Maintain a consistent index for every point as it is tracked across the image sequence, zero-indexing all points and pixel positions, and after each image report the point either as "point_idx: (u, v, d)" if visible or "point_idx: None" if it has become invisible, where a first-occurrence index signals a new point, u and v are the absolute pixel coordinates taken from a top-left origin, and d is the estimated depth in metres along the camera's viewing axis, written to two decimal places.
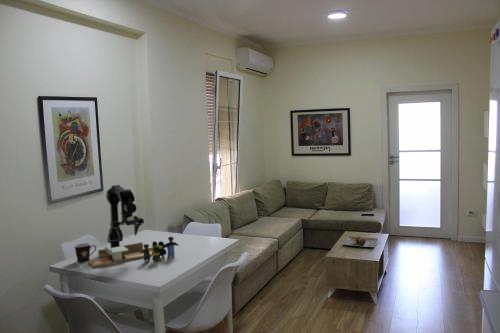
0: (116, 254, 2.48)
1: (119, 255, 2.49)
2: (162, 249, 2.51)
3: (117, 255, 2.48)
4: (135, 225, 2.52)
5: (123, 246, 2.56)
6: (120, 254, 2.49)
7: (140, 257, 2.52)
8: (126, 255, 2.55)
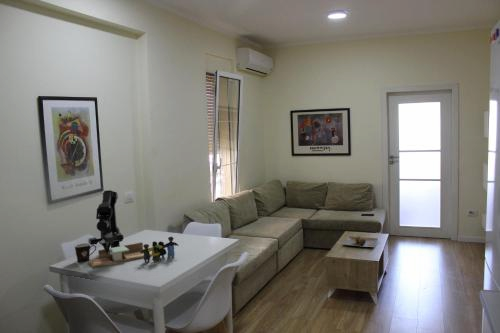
0: (116, 254, 2.48)
1: (119, 255, 2.49)
2: (162, 249, 2.51)
3: (117, 255, 2.48)
4: (107, 243, 2.44)
5: (123, 246, 2.56)
6: (120, 254, 2.49)
7: (140, 257, 2.52)
8: (126, 255, 2.55)
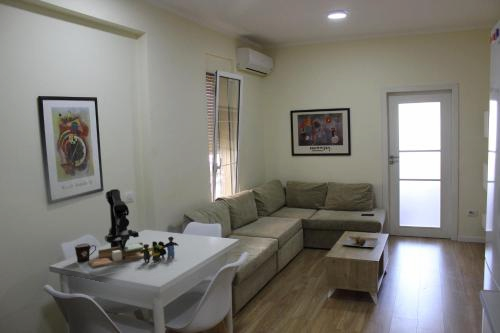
0: (116, 254, 2.48)
1: (119, 255, 2.49)
2: (162, 249, 2.51)
3: (117, 255, 2.48)
4: (122, 240, 2.49)
5: None
6: (120, 254, 2.49)
7: (140, 257, 2.52)
8: (126, 255, 2.55)
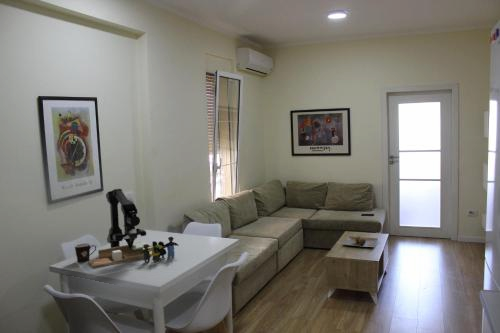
0: (116, 254, 2.48)
1: (119, 255, 2.49)
2: (162, 249, 2.51)
3: (117, 255, 2.48)
4: (130, 238, 2.51)
5: (145, 242, 2.64)
6: (120, 254, 2.49)
7: (140, 257, 2.52)
8: (126, 255, 2.55)
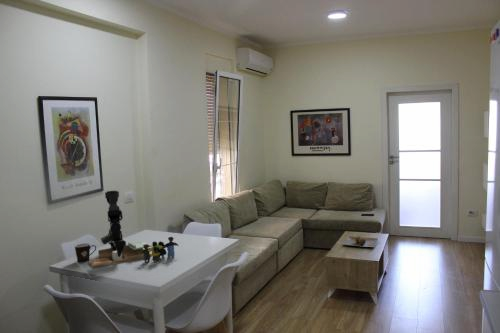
0: (116, 254, 2.48)
1: None
2: (162, 249, 2.51)
3: (117, 255, 2.48)
4: None
5: (145, 242, 2.64)
6: None
7: (140, 257, 2.52)
8: (126, 255, 2.55)
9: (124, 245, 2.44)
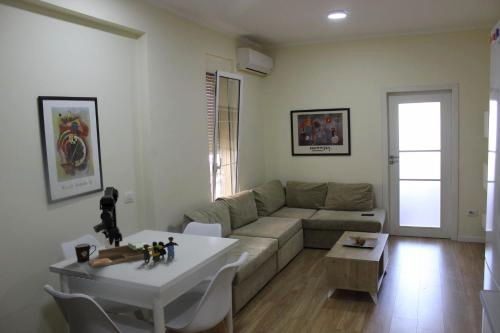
0: None
1: (112, 243, 2.46)
2: (162, 249, 2.51)
3: None
4: None
5: (145, 242, 2.64)
6: (113, 241, 2.46)
7: (140, 257, 2.52)
8: (126, 255, 2.55)
9: (116, 233, 2.43)
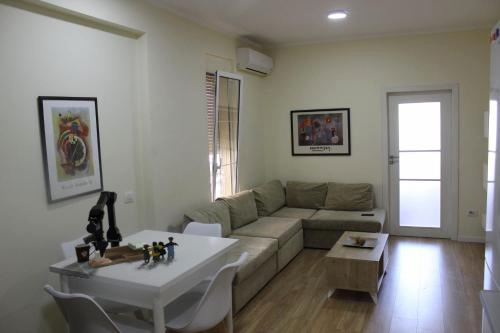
0: (99, 254, 2.42)
1: None
2: (162, 249, 2.51)
3: (99, 255, 2.42)
4: None
5: (145, 242, 2.64)
6: None
7: (140, 257, 2.52)
8: (126, 255, 2.55)
9: (107, 246, 2.39)
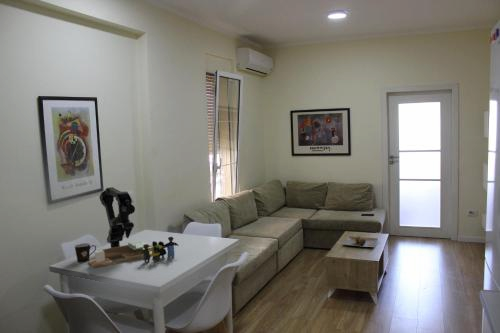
0: (99, 254, 2.42)
1: (102, 256, 2.43)
2: (162, 249, 2.51)
3: (99, 255, 2.42)
4: None
5: (145, 242, 2.64)
6: (103, 254, 2.43)
7: (140, 257, 2.52)
8: (126, 255, 2.55)
9: (132, 227, 2.55)
